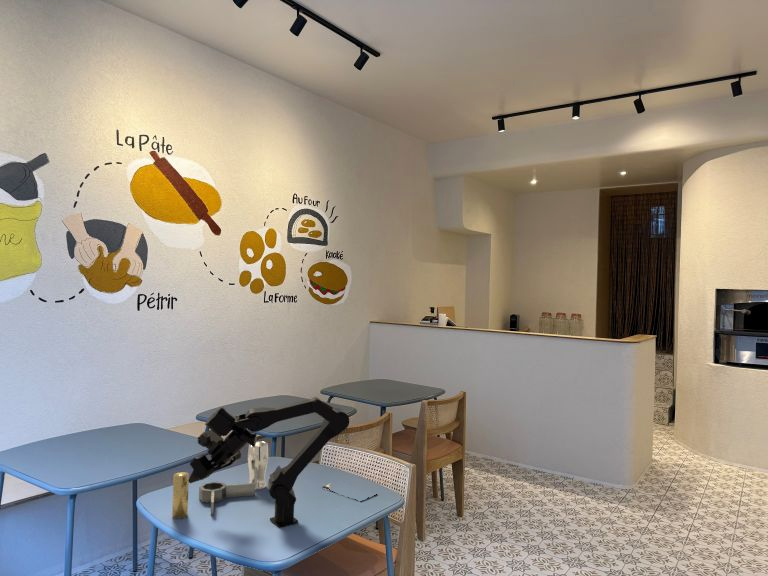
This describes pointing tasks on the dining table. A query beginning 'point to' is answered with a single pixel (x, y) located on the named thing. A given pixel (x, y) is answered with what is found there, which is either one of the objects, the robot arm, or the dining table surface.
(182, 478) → the hinge pin
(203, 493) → the grey ring with arms
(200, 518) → the dining table surface
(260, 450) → the beer glass
